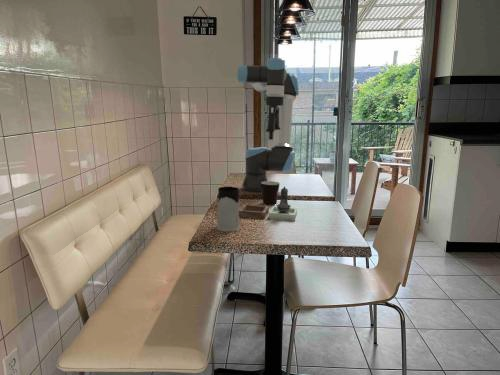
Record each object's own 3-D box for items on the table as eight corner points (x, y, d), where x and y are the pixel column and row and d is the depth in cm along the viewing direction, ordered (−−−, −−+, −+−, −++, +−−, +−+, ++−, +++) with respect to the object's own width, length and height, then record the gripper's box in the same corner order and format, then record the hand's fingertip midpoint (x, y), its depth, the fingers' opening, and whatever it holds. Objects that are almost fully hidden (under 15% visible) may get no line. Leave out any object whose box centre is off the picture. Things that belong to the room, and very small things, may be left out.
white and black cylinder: (214, 230, 138) (214, 190, 135) (222, 219, 152) (222, 183, 149) (237, 232, 137) (238, 191, 134) (243, 221, 151) (244, 184, 148)
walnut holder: (244, 209, 167) (244, 204, 167) (268, 211, 165) (268, 206, 165) (238, 216, 157) (238, 210, 156) (264, 218, 155) (264, 212, 154)
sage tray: (272, 212, 165) (272, 206, 164) (296, 214, 163) (297, 208, 162) (268, 218, 155) (269, 212, 154) (294, 220, 153) (295, 215, 152)
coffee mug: (272, 206, 174) (272, 185, 172) (257, 203, 179) (257, 182, 177) (285, 202, 183) (286, 182, 181) (270, 199, 188) (271, 179, 186)
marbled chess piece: (273, 213, 159) (274, 185, 156) (282, 211, 163) (283, 184, 160) (284, 216, 154) (285, 188, 152) (293, 214, 159) (294, 186, 156)
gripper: (270, 96, 175) (268, 142, 179) (261, 95, 151) (259, 148, 155) (286, 96, 173) (284, 143, 178) (280, 95, 149) (278, 149, 154)
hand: (273, 145), depth 167 cm, fingers open, 13 cm apart
